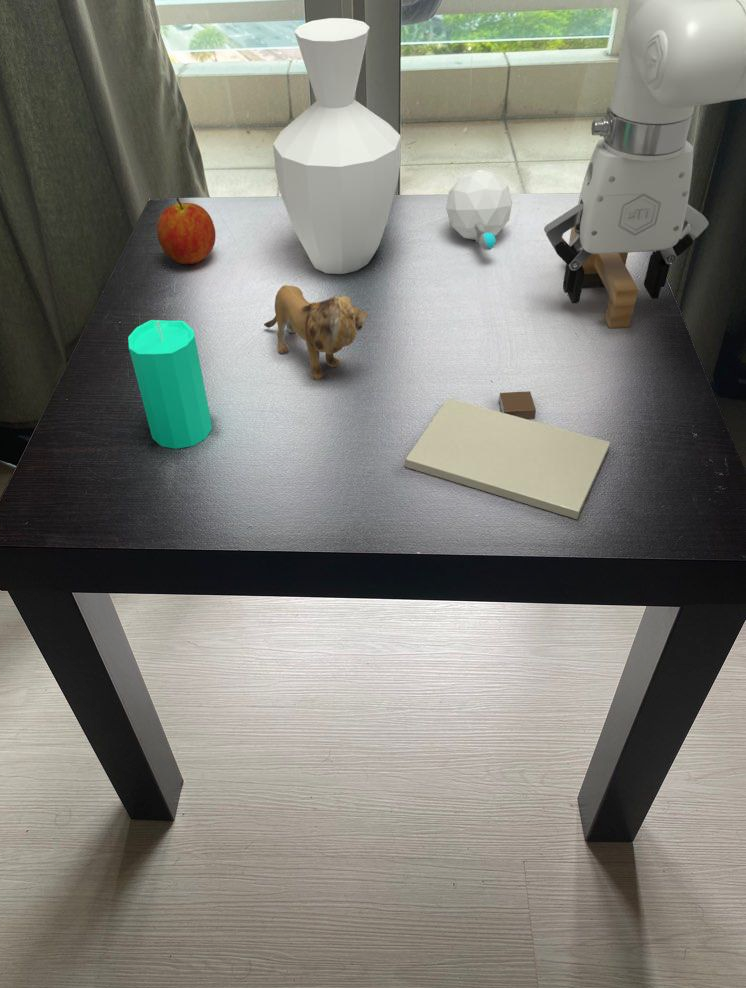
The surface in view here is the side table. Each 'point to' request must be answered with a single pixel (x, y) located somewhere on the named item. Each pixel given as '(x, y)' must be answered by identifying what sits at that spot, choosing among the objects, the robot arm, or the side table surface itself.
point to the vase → (337, 154)
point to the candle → (170, 382)
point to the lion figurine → (316, 324)
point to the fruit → (186, 232)
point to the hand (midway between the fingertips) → (611, 294)
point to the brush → (611, 284)
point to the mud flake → (517, 404)
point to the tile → (510, 457)
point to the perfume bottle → (479, 206)
